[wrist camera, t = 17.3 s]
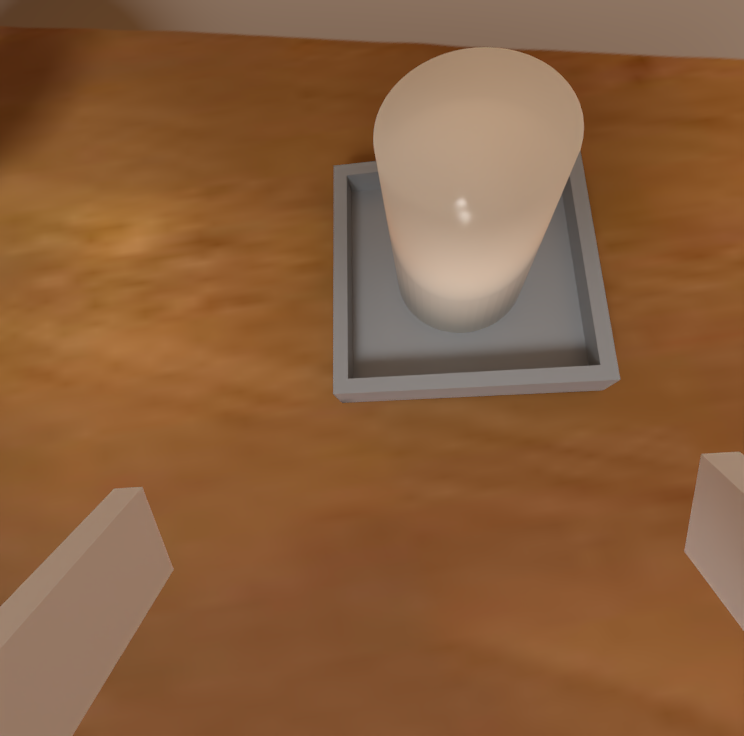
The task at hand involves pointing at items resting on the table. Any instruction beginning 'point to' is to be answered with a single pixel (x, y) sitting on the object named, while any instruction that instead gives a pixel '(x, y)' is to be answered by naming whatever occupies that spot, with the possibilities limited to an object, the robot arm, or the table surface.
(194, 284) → the table surface
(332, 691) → the table surface
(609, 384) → the slate tray
